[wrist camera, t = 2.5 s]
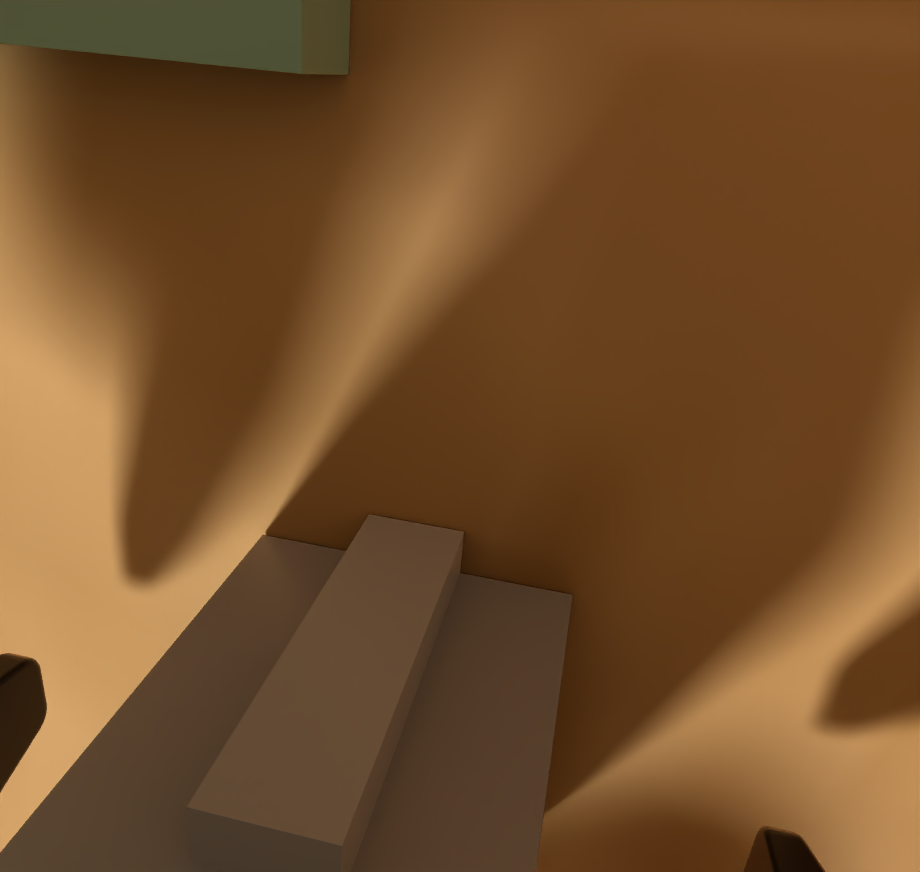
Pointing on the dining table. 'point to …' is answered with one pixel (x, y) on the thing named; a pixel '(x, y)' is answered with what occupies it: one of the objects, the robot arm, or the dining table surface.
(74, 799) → the plug
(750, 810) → the dining table surface
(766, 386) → the dining table surface
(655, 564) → the dining table surface
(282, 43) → the board
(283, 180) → the dining table surface
